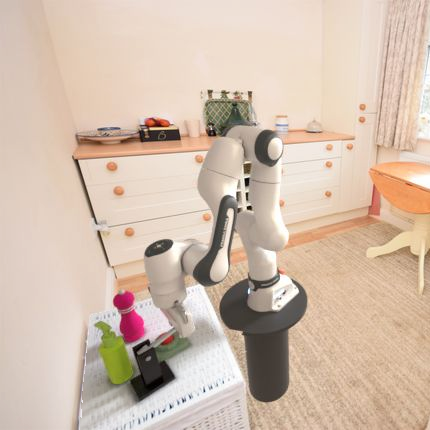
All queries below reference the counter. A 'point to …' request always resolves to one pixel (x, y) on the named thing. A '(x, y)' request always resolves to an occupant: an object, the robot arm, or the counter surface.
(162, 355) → the button block
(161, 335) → the button
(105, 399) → the counter surface
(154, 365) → the bracket
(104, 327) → the soap dispenser
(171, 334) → the tap lever
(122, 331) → the pepper mill
